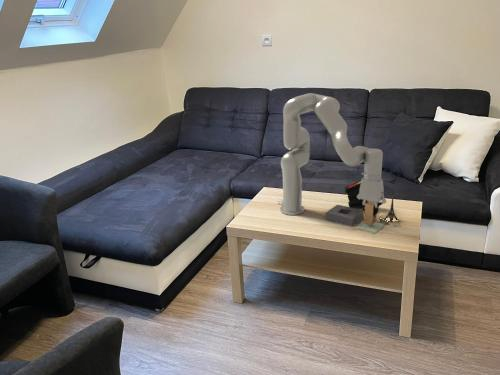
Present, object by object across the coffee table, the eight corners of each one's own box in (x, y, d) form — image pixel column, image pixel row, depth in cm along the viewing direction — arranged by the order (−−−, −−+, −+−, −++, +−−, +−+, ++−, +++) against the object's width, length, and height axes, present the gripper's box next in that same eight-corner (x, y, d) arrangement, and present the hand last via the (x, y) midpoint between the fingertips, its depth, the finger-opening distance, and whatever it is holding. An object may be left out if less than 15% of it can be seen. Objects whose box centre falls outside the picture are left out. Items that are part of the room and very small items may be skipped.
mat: (355, 228, 201) (355, 227, 201) (364, 220, 208) (364, 219, 208) (375, 233, 195) (375, 232, 195) (384, 225, 202) (384, 224, 202)
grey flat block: (325, 219, 211) (325, 212, 210) (337, 211, 220) (337, 204, 218) (352, 226, 203) (352, 218, 201) (362, 217, 211) (363, 210, 210)
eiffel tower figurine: (378, 213, 217) (380, 189, 212) (399, 215, 214) (402, 190, 210) (379, 226, 203) (381, 200, 198) (401, 228, 200) (404, 201, 196)
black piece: (377, 205, 221) (365, 181, 217) (353, 215, 224) (341, 191, 220) (376, 203, 224) (364, 178, 220) (352, 212, 228) (340, 188, 224)
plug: (364, 223, 200) (365, 203, 197) (367, 220, 203) (368, 200, 200) (372, 225, 198) (373, 205, 195) (375, 222, 201) (376, 202, 198)
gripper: (351, 175, 195) (350, 212, 201) (387, 181, 185) (384, 220, 191) (358, 171, 201) (357, 207, 207) (394, 177, 191) (391, 214, 197)
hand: (370, 213), depth 199 cm, fingers closed on plug, 4 cm apart
